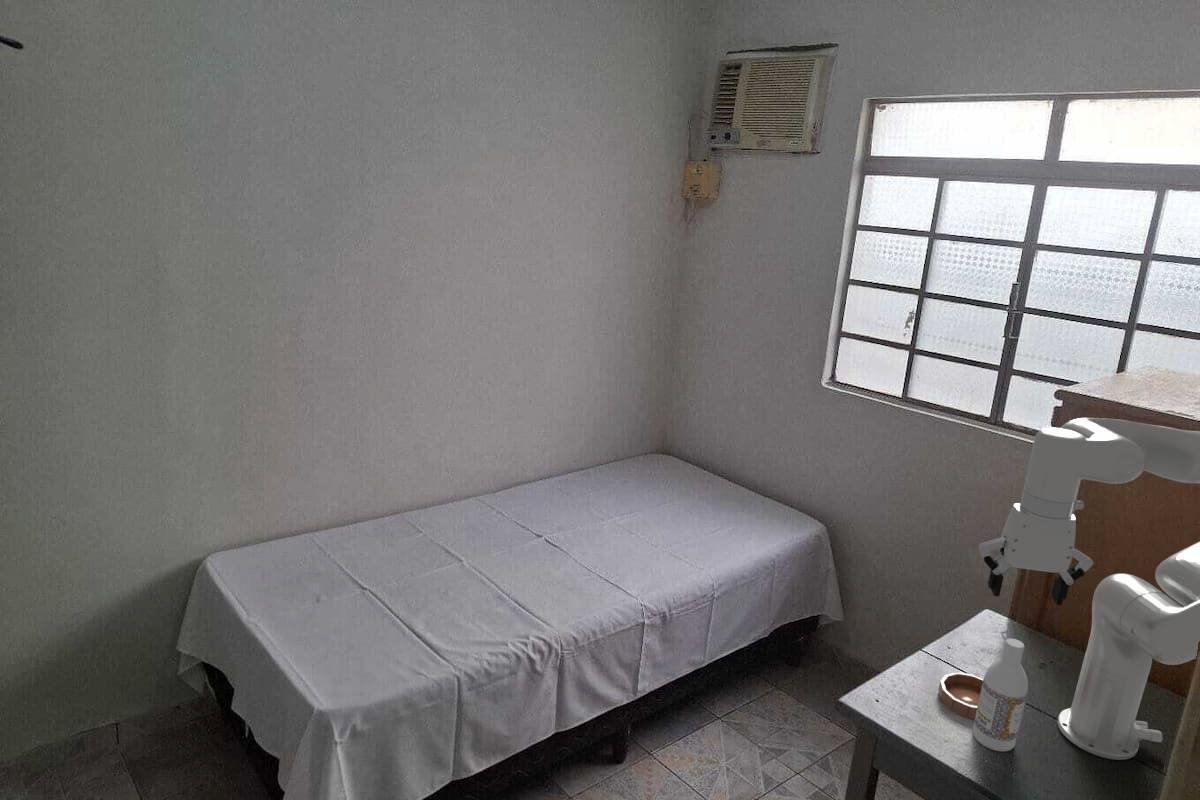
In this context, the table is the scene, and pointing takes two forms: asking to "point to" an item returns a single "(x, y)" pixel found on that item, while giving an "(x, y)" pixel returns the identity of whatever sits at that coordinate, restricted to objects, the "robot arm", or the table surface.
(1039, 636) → the table surface
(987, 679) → the bath foam
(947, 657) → the table surface
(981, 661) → the table surface
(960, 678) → the ring dish
